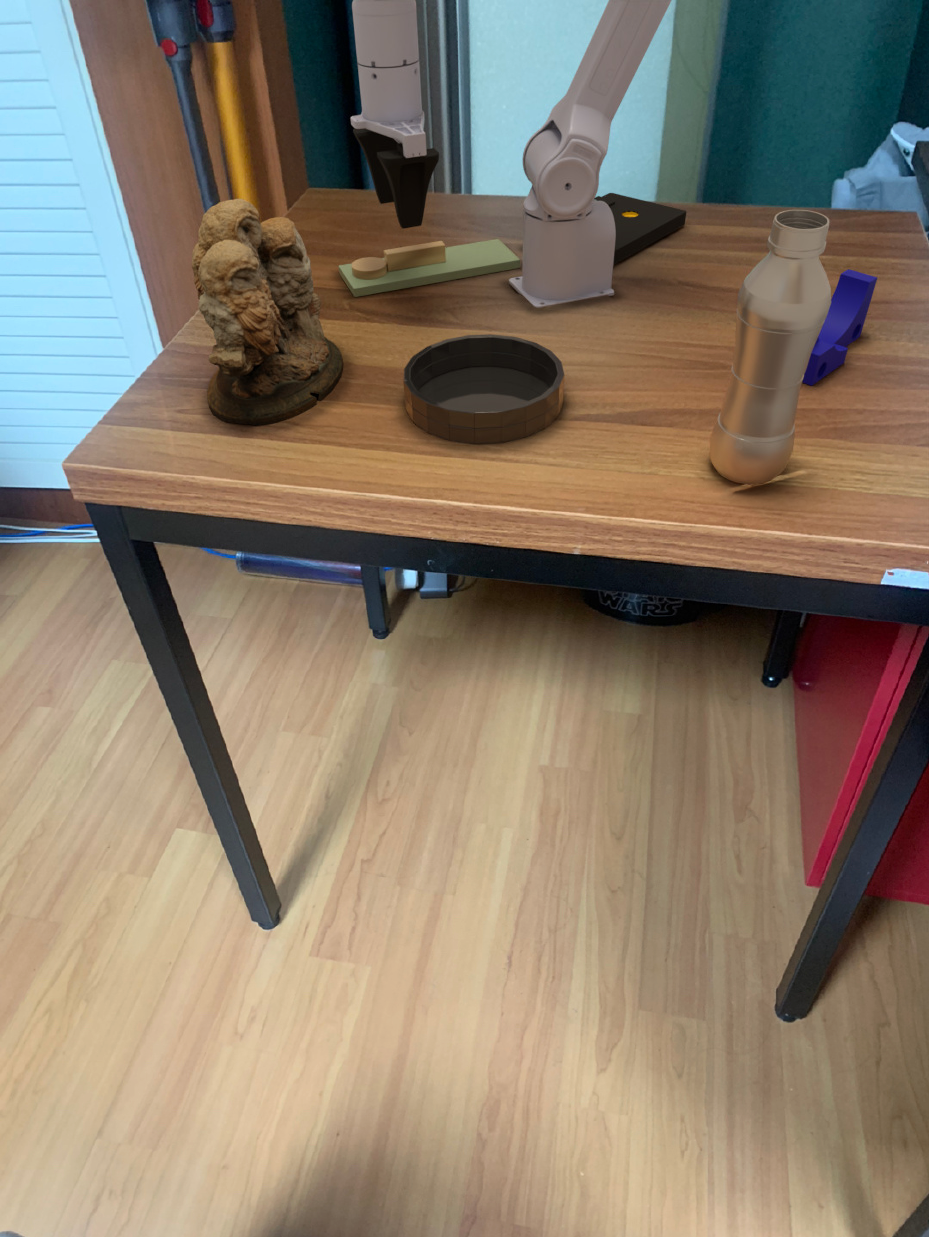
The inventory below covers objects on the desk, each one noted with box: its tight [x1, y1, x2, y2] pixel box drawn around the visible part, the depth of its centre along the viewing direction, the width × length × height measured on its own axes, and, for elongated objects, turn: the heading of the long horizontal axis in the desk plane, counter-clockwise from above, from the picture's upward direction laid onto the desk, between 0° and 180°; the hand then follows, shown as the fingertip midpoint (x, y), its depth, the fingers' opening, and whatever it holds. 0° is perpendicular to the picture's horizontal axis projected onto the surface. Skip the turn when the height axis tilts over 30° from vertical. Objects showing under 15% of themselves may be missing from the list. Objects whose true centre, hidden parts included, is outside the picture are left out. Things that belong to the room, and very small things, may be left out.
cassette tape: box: [593, 192, 688, 266], centre depth 109 cm, size 18×12×2 cm, turn 139°
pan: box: [403, 333, 565, 445], centre depth 80 cm, size 14×14×4 cm
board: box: [338, 238, 521, 298], centre depth 104 cm, size 20×7×1 cm, turn 110°
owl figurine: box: [191, 198, 344, 427], centre depth 79 cm, size 18×12×17 cm, turn 169°
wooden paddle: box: [351, 240, 446, 280], centre depth 102 cm, size 11×4×2 cm, turn 110°
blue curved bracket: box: [802, 268, 878, 387], centre depth 85 cm, size 12×4×6 cm, turn 135°
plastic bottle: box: [709, 209, 832, 486], centre depth 66 cm, size 6×7×20 cm
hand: (399, 213), depth 92 cm, fingers open, 7 cm apart
